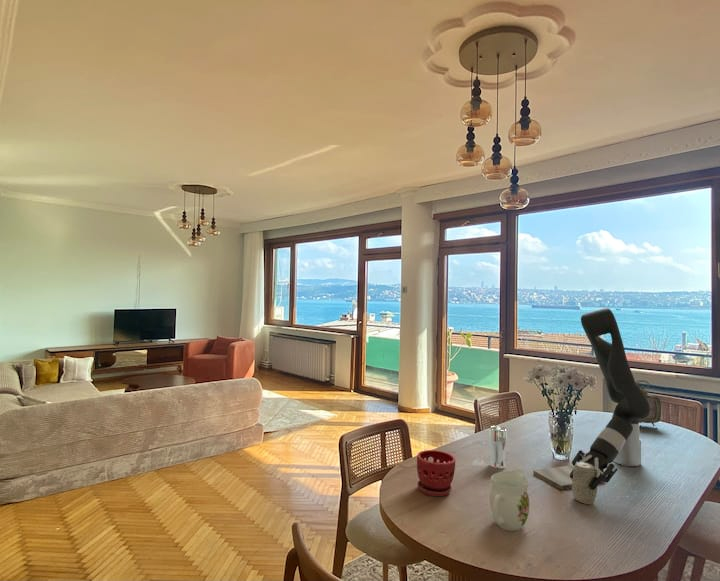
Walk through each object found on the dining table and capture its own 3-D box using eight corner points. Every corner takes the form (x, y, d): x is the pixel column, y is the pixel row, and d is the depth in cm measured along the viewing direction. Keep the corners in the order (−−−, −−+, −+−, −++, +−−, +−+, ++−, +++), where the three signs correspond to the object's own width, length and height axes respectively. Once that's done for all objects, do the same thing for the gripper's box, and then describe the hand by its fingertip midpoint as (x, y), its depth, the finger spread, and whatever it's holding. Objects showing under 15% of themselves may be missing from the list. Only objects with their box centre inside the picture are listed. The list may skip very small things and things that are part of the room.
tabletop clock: (631, 428, 226) (631, 381, 227) (623, 423, 235) (623, 378, 236) (661, 430, 224) (661, 382, 224) (652, 425, 233) (652, 379, 233)
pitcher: (475, 530, 122) (476, 482, 122) (503, 509, 135) (503, 465, 135) (513, 546, 114) (513, 494, 115) (538, 521, 128) (538, 475, 128)
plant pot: (431, 502, 139) (432, 465, 139) (409, 486, 150) (409, 452, 151) (463, 494, 145) (463, 459, 145) (438, 480, 156) (439, 447, 157)
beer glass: (508, 470, 167) (508, 431, 167) (489, 468, 168) (489, 430, 169) (505, 463, 174) (506, 426, 174) (487, 461, 175) (488, 425, 175)
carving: (596, 508, 137) (597, 470, 137) (570, 501, 141) (570, 465, 141) (598, 500, 142) (598, 464, 142) (572, 494, 146) (573, 459, 146)
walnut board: (574, 468, 169) (574, 464, 169) (605, 483, 156) (605, 479, 156) (533, 474, 163) (533, 470, 163) (561, 489, 150) (561, 485, 150)
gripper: (584, 431, 151) (558, 468, 147) (621, 444, 138) (592, 485, 134) (596, 445, 153) (570, 481, 149) (633, 459, 139) (605, 500, 135)
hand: (581, 483), depth 141 cm, fingers closed on carving, 7 cm apart
